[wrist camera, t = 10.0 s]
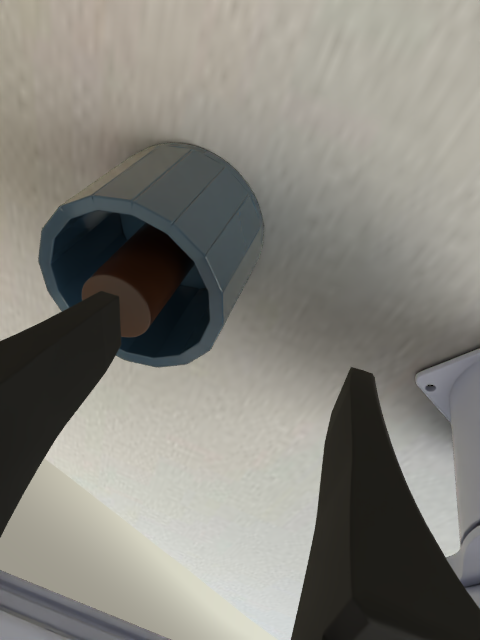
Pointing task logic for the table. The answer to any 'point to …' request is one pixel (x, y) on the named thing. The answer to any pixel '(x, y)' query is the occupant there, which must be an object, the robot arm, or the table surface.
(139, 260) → the walnut peg
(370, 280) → the table surface
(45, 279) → the pen cup
